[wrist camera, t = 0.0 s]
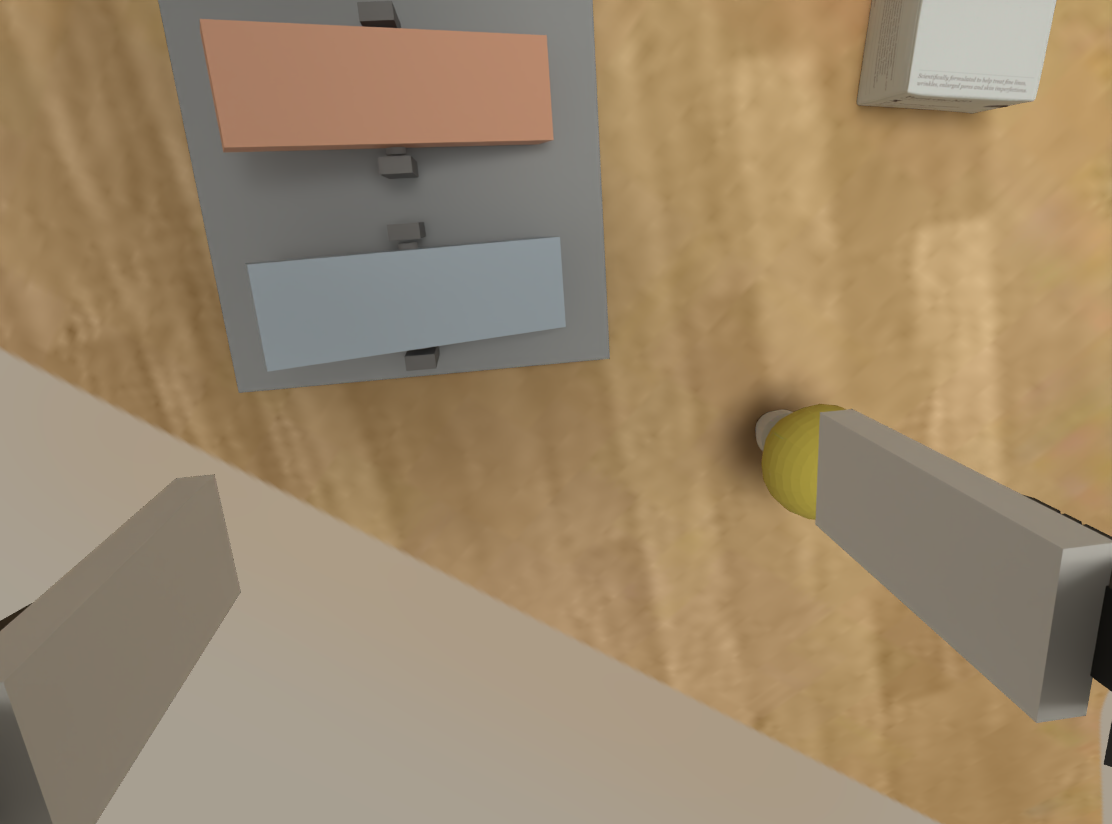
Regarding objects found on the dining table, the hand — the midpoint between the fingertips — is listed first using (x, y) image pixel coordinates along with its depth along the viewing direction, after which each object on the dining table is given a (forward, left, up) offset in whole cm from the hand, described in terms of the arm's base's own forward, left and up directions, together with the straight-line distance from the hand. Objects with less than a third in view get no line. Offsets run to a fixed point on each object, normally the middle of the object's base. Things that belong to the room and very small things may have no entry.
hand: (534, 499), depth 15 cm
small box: (-14, +27, -28) cm, 41 cm away
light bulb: (+9, +18, -28) cm, 34 cm away
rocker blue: (-2, -4, -24) cm, 24 cm away
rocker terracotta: (-12, -4, -24) cm, 27 cm away
